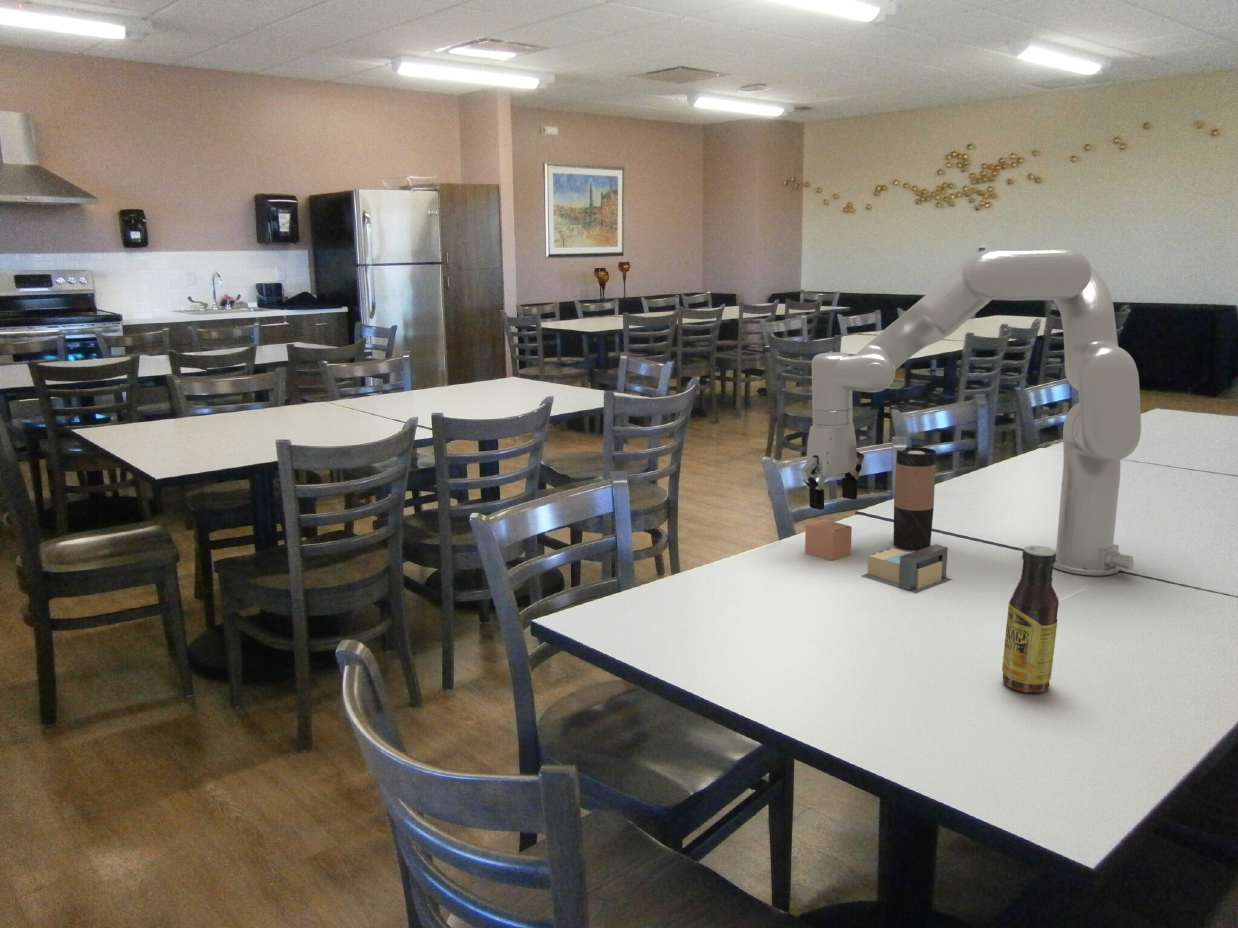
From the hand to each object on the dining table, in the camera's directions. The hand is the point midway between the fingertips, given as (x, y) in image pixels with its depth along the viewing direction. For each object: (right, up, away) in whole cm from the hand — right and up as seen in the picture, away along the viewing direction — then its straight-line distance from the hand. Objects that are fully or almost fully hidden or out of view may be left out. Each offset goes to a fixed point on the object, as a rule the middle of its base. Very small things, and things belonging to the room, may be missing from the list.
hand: (833, 503), depth 185 cm
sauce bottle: (+14, -23, -55) cm, 61 cm away
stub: (-1, -10, +3) cm, 11 cm away
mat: (+11, -13, -12) cm, 21 cm away
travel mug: (+17, -9, +7) cm, 21 cm away
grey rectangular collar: (+13, -14, -15) cm, 24 cm away
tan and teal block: (+10, -13, -12) cm, 20 cm away
